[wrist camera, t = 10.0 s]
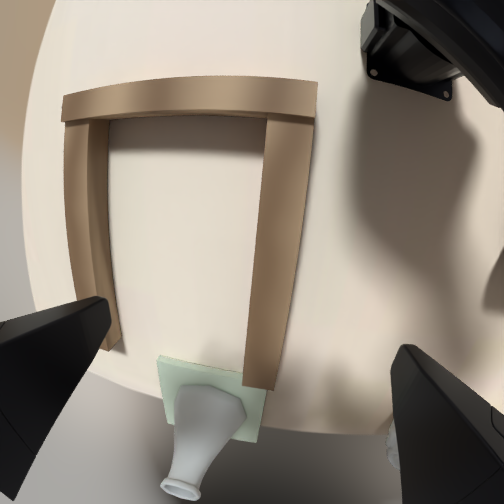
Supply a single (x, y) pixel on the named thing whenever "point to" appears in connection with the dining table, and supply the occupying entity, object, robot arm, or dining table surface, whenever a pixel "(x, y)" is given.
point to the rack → (271, 196)
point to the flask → (200, 435)
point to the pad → (228, 381)
